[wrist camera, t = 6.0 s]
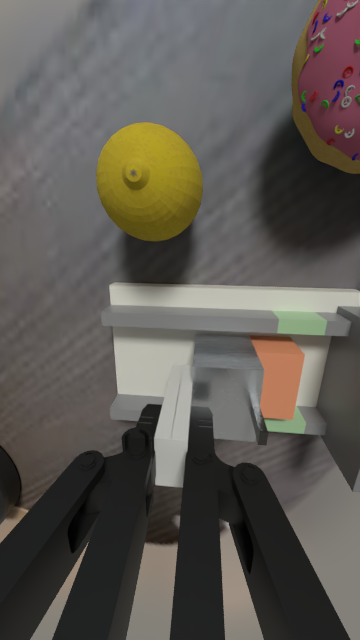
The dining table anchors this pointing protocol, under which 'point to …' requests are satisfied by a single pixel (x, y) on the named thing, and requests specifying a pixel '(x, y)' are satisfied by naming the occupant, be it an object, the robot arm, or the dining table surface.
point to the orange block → (279, 375)
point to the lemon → (149, 181)
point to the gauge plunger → (229, 386)
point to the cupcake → (329, 84)
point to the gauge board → (243, 320)
